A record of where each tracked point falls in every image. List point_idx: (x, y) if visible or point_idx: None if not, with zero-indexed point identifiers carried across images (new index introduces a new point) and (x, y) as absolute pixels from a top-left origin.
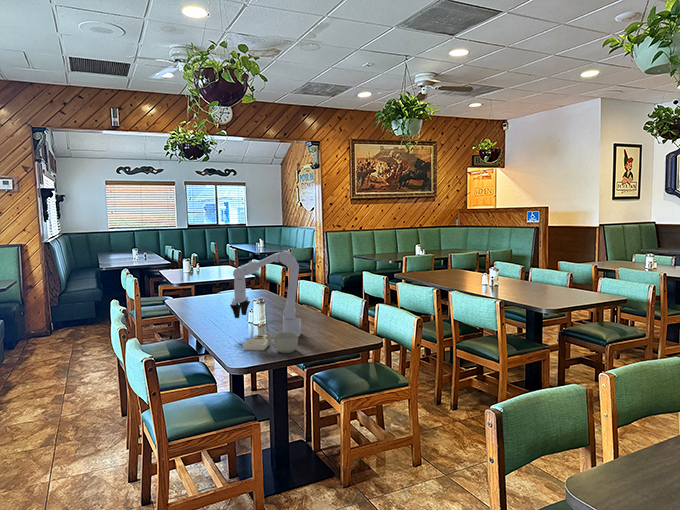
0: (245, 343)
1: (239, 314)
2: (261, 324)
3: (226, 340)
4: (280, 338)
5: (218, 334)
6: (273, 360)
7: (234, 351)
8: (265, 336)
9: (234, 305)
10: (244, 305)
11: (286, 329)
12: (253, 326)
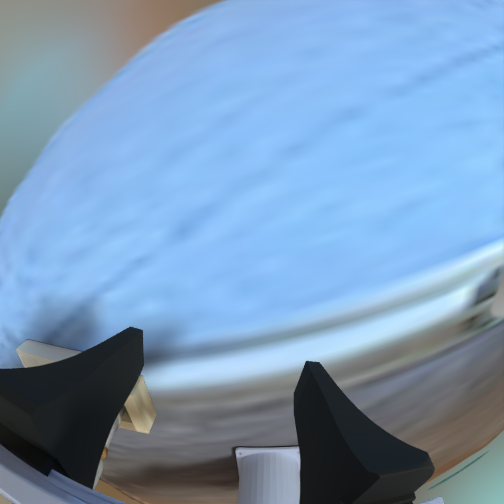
0: (30, 356)
1: (124, 394)
2: (103, 456)
3: (108, 225)
4: None
5: (253, 107)
6: None
7: (8, 312)
8: (123, 426)
9: (8, 431)
10: (314, 480)
11: (240, 480)
12: (462, 285)
